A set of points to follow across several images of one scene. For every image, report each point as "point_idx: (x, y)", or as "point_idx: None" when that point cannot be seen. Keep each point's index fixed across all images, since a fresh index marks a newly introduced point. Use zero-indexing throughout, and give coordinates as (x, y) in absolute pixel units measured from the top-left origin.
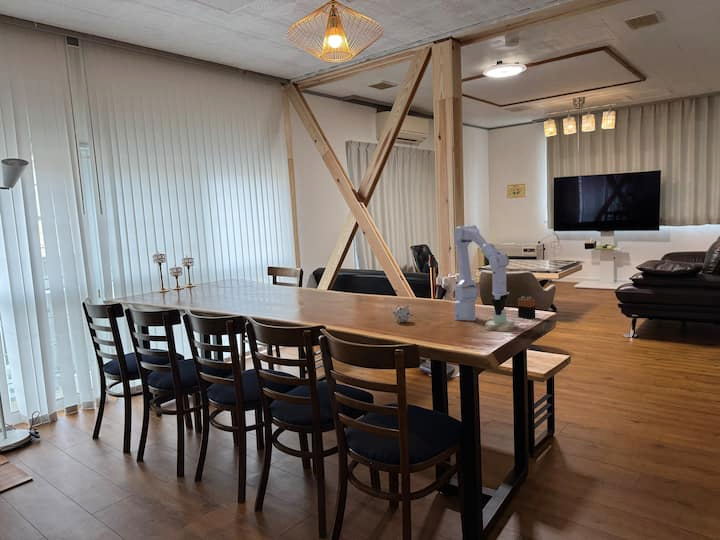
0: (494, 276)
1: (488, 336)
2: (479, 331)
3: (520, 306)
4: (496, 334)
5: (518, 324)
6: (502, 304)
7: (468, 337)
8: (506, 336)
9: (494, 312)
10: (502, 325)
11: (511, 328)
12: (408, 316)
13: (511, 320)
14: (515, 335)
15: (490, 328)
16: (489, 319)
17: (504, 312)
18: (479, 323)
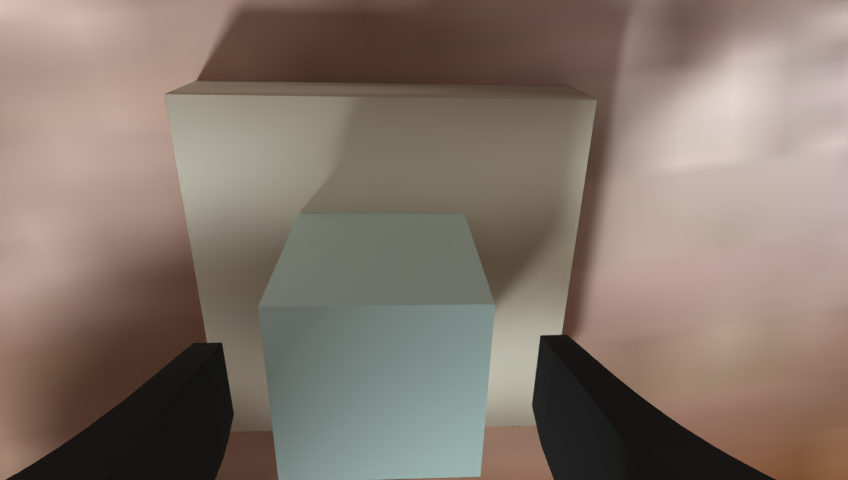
0: None
1: (821, 302)
2: None
3: None
4: (735, 240)
5: (89, 30)
6: (762, 476)
7: (842, 449)
8: (843, 116)
9: (479, 455)
10: (576, 227)
11: (580, 92)
12: None
13: (199, 144)
14: (800, 5)
15: None
16: (240, 426)
17: (493, 305)
18: (225, 474)
